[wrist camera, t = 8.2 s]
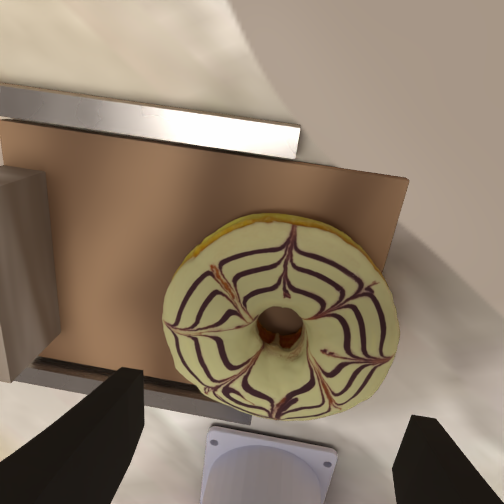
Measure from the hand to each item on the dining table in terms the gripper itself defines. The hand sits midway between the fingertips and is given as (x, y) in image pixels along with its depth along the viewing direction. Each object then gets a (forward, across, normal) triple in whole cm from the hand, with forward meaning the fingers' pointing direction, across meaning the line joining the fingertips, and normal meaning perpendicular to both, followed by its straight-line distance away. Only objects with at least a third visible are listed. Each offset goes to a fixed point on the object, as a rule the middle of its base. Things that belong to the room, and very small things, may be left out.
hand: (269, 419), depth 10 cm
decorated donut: (+10, 0, +2) cm, 10 cm away
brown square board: (+9, +5, +1) cm, 10 cm away
